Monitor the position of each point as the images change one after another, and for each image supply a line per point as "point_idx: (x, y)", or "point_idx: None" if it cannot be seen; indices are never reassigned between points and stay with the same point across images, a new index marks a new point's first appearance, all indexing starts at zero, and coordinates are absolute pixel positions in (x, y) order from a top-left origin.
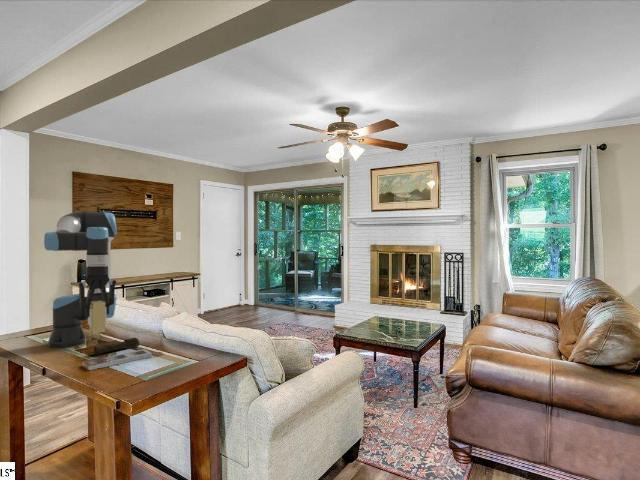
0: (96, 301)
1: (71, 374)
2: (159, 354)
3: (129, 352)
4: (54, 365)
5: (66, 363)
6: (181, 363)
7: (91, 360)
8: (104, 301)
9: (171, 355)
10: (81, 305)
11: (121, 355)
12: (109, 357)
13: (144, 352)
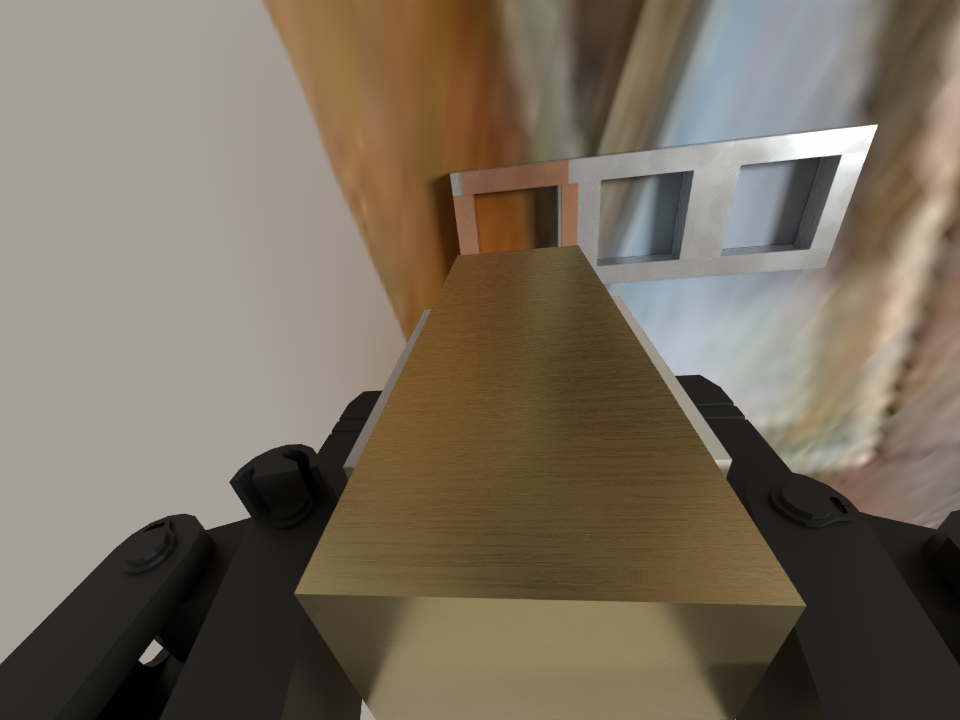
0: (532, 660)
1: (397, 289)
2: (872, 243)
3: (750, 146)
4: (300, 18)
5: (369, 21)
6: (800, 444)
7: (495, 191)
8: (759, 702)
9: (888, 311)
10: (182, 659)
11: (680, 170)
12: (600, 186)
13: (822, 193)
